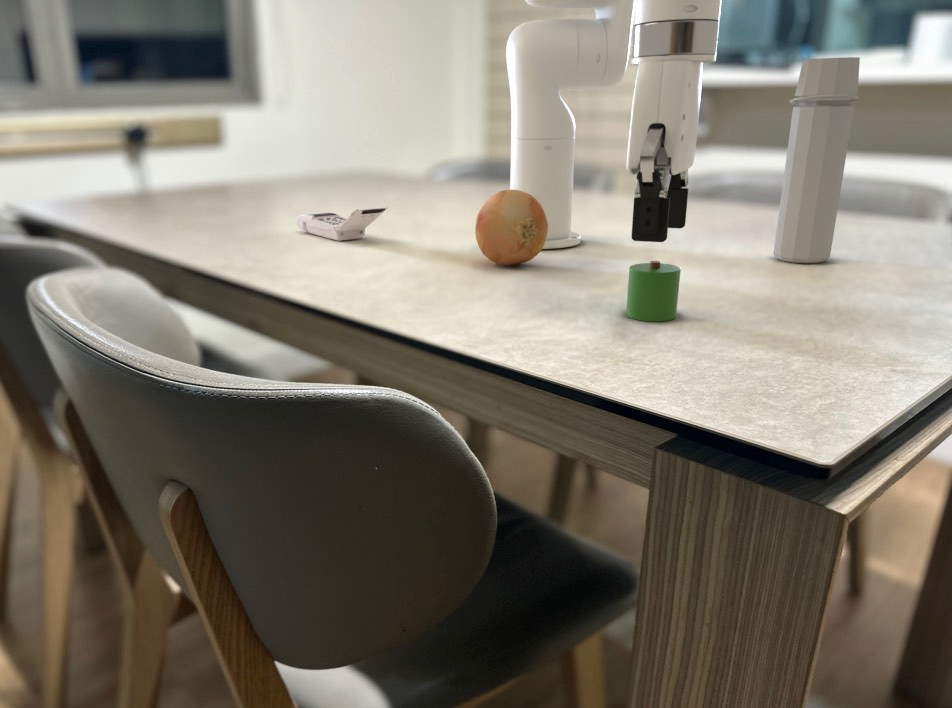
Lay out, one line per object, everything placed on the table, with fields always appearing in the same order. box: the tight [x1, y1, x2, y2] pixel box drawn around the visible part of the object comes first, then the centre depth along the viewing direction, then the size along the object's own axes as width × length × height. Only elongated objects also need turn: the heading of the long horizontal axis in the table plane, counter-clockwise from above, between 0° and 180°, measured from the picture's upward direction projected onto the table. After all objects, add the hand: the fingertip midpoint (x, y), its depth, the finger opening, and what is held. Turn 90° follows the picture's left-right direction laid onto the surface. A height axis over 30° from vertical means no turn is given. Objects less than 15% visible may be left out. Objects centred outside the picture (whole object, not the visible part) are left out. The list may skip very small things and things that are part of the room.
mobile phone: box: [296, 206, 389, 242], centre depth 136 cm, size 6×6×25 cm
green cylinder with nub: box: [625, 260, 681, 323], centre depth 83 cm, size 5×5×6 cm
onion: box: [474, 189, 548, 266], centre depth 108 cm, size 10×10×10 cm
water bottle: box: [773, 56, 861, 264], centre depth 105 cm, size 9×8×25 cm
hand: (659, 233), depth 80 cm, fingers open, 9 cm apart
